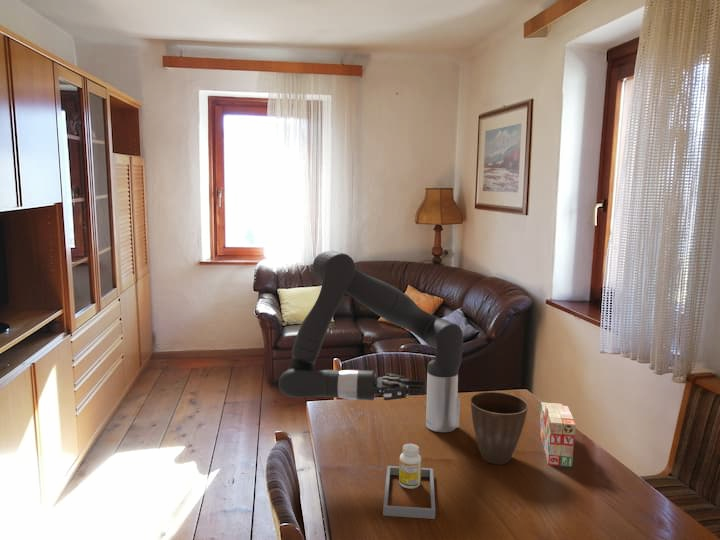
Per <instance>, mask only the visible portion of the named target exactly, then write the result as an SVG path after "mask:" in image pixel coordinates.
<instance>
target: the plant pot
mask: <svg viewBox="0 0 720 540" xmlns="http://www.w3.org/2000/svg"><path fill="white" fill-rule="evenodd" d="M528 407H529V405H528V402H526V401H525V399H523V398H521V397H518V396H516V395H514V394H510V393H505V392H499V391H498V392H497V391H485V392H480V393H476V394H474V395H472V396H471V398H470V408H471V409H470V411H471V418H472V426H473V429H474V434H475V439H476V442H477V447H478V449H479V452H480V455H481V458H482V459H483V460H484V461H486V462H487V463H490V464H493V465H504V464H507V463H509V461H510V460H511V458H512V456H513V454H514V452H515V449H516V448H517V445H518V443H519V441H520V437H521V434H522V431H523V428H524V424H525V422H526V418H527V413H528V410H529V408H528Z"/></svg>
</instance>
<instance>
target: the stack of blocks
mask: <svg viewBox="0 0 720 540" xmlns="http://www.w3.org/2000/svg"><path fill="white" fill-rule="evenodd" d="M539 412H540V417H539V434H540V438H541V443H542V444H543V448H544V452H545V457H546V458H545V459H546V461H547V465H549V466H557V467H569V468H572V467H573V462H574V460H573V459H574V446H575V439H576V426H577V425H576V422H575V419H574V417H573V415H572V414H573V413H572V412H571V411H570V408H569V406H568V405H563V404H562V403H558V402H557V403H556V402H551V403H550V402H544V401H542V402H540V409H539Z"/></svg>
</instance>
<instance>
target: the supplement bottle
mask: <svg viewBox="0 0 720 540" xmlns="http://www.w3.org/2000/svg"><path fill="white" fill-rule="evenodd" d="M401 452H402V453H401V454H400V455H399V463H398V464H399V465H398V466H399V475H398V483H399V484H400V486H401V487H402V488H406V489H410V490H411V489H412V490H414V489H417V488H419V486H420V485H421V478H422V477H421V468H422V456H421V455H420V454H419V453H420V447H419V446H418V445H417V444H414V443H406V444H403V446H402V451H401Z"/></svg>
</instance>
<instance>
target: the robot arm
mask: <svg viewBox="0 0 720 540" xmlns="http://www.w3.org/2000/svg"><path fill="white" fill-rule="evenodd" d="M355 264H356V263H355V261H354V259H353V258H352V257H351V256H350V255H348V254H346V253H345V252H339V251H334V250H329V251H323V252H321V253H318V254H317V256H316V257H315V258H314V260H313V262H312V271H313V274H314V276H315V278H316V279H317V280H318V281H319V282H320V283H322V285H321V288H320V291H319V295H318V296H317V299H316V301H315V303H314V304H313V306H312V307H311V309H310V311H309V312H308V314H307V315H306V316H305V318H304V320H303V321H302V323H301V325H300V327H299V329H298V332H297V335H296V338H295V341H294V343H293V346H292V349H291V355H292V356H291V359H290V362H289V365H288V367H287V370H285V371H284V372H282V374H281V375H279V376H280V377H279V378H278V382H277V383H278V388H279V390H280V392H281V393H282V394H283V395H285V396H286V397H290V398H311V397H312V398H313V397H323V398H336V399H337V398H338V399H340V398H341V399H345V400H357V401H358V400H359V401H360V400H361V401H374V400H375V397H376V395H377V396H383V400H384V401H390V400H392V401H393V400H399V399H400V400H401V399H406V398H407V396H409V395H418V396H419V395H420V396H423V395H424V393H425V382H424V381H423V380H415V379H414V380H410V378H408V377H407V376H406V375H401V374H400V375H399V374H395V373H390V372H388V373H386V374H385V375H386V376H385V375H384V376H379V377H378V376H377V374H376V373H377V372H376V371H375V370H365V369H364V370H363V369H360V370H359V369H343V370H339V369H322V370H315V365H316V360H317V358H318V357H319V354H320V351H321V349H322V345H323V343H324V340H325V337H326V334H327V332H328V329H329V326H330V325H331V322H332V320H333V317H334V316H335V314H336V311H337V310H338V308H339V306H340V303H341V302H342V299H343V298H344V296H345V294H347V295H348V296H349V297H351V298H353V299H354V300H356V301H357V302H358V303H360V304H361V305H362V306H363V307H365V308H367V309H368V310H369V311H371V312H373V313H374V314H375V315H377V316H379V317H380V318H382V319H384V320H386V321H387V322H389V323H392V324H393V325H396V326H397V327H400V328H403V329H406V330H408V331H409V332H411V333H413V334H414V335H415V336H417V337H418V338H420V340H422V341H423V342H425V344H426V345H428V346H429V347H431V348H433V349H435V357H434V358H435V359H432V360H430V361H428V364H427V371H426V372H427V374H426V376H427V377H426V407H425V408H426V410H425V411H426V412H425V426H426V428H427V429H429V430H431V431H432V432H438V433H449V432H453V431H454V430H455V431H456V429H457V428H458V429H459V427H460V411H461V410H460V406H461V405H460V404H461V398H460V396H458V391H459V389H458V388H459V387H458V385H459V383H458V382H459V369H460V366H461V364H462V359H463V358H462V357H463V348H464V346H463V345H464V334H463V330H462V328H461V327H460V326H459V324H457V323H454V322H452V321H449V320H447V319H445V318H441V317H438V316H436V315H434V314H431V313H429V312H427V311H425V310H423V309H422V308H420V307H419V306H418V304H417V303H416V302H415V301H414V300H413V299H412V298H411V297H410V296H408V295H407V294H406V293H404V292H403V291H401V290H400V289H398V288H397V287H395V286H394V285H391V284H389V283H387V282H385V281H383V280H381V279H378V278H376V277H373V276H370V275H368V274H366V273H364V272H362V271H360V270H358V268H356V265H355Z"/></svg>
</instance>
